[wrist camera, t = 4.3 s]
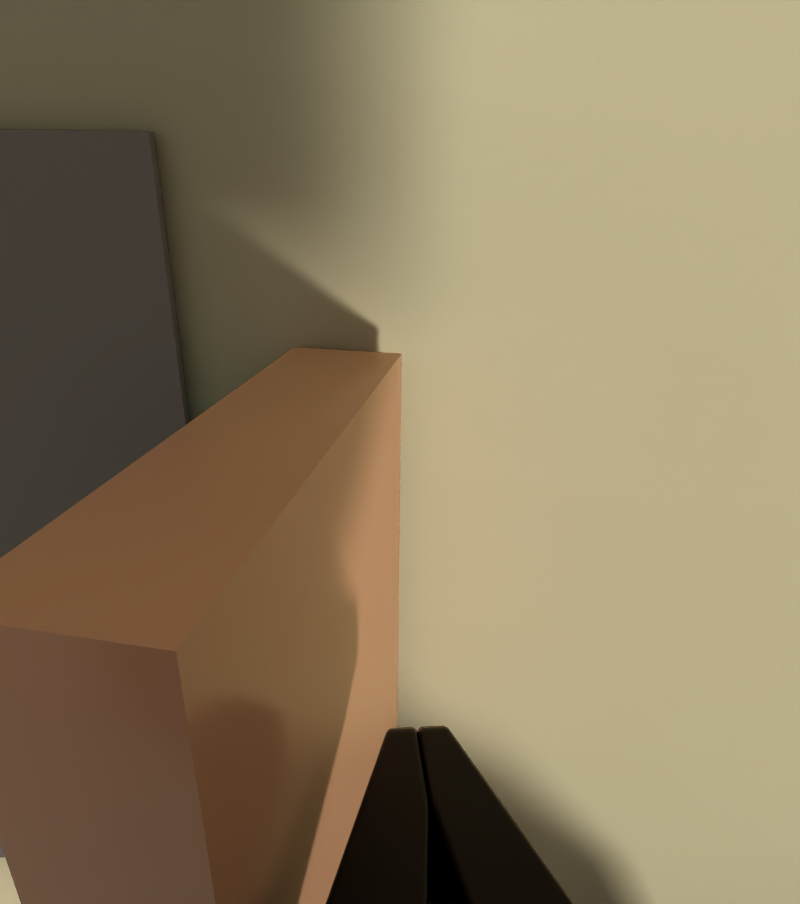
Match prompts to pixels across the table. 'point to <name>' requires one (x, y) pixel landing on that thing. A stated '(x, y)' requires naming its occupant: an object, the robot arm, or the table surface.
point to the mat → (81, 320)
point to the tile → (210, 651)
